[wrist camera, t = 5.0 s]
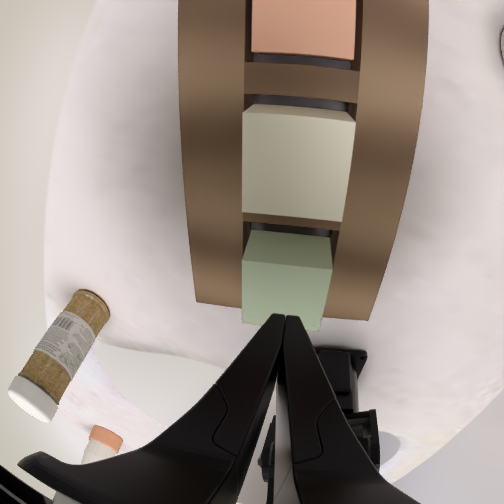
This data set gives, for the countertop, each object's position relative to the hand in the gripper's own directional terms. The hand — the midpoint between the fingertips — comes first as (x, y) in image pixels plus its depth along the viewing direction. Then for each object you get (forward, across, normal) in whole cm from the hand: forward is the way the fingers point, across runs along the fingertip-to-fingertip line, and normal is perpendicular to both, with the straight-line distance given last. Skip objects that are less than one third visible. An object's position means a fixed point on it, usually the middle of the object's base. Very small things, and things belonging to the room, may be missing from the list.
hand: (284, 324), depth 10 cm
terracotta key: (+10, 0, -10) cm, 15 cm away
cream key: (+8, 0, -3) cm, 9 cm away
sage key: (+9, 0, +4) cm, 9 cm away
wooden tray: (+11, 0, -3) cm, 12 cm away
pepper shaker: (+13, +34, +58) cm, 68 cm away
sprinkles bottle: (+12, +19, +14) cm, 26 cm away
